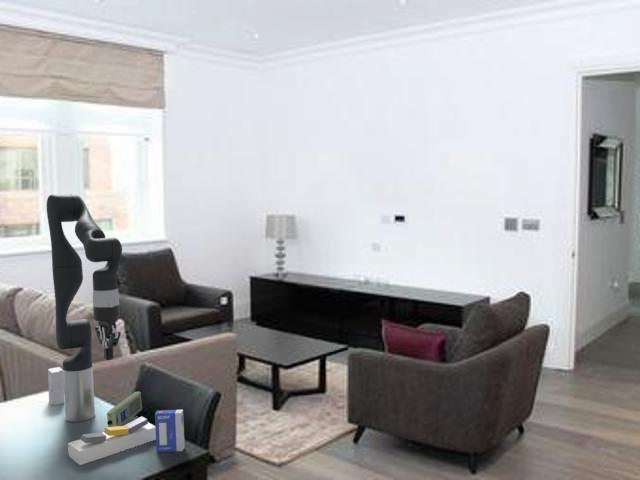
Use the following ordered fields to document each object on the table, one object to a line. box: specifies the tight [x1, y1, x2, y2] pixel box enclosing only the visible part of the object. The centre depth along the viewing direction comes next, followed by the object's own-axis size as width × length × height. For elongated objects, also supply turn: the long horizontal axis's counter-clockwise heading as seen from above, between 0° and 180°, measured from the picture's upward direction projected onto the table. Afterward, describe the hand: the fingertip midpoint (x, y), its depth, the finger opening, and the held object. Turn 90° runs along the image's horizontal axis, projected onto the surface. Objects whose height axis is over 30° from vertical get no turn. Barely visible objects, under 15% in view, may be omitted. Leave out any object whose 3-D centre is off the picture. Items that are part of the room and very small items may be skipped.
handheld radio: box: [106, 391, 143, 427], centre depth 205 cm, size 7×3×25 cm
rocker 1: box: [103, 425, 129, 436], centre depth 186 cm, size 3×6×2 cm, turn 134°
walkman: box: [154, 409, 185, 453], centre depth 185 cm, size 8×3×12 cm, turn 94°
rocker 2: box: [124, 416, 149, 433], centre depth 190 cm, size 3×6×2 cm, turn 134°
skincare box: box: [47, 366, 65, 406], centre depth 225 cm, size 6×4×12 cm
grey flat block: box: [80, 432, 106, 443], centre depth 181 cm, size 3×6×2 cm, turn 134°
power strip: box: [67, 422, 156, 466], centre depth 187 cm, size 8×24×4 cm, turn 134°
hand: (109, 359), depth 192 cm, fingers closed
